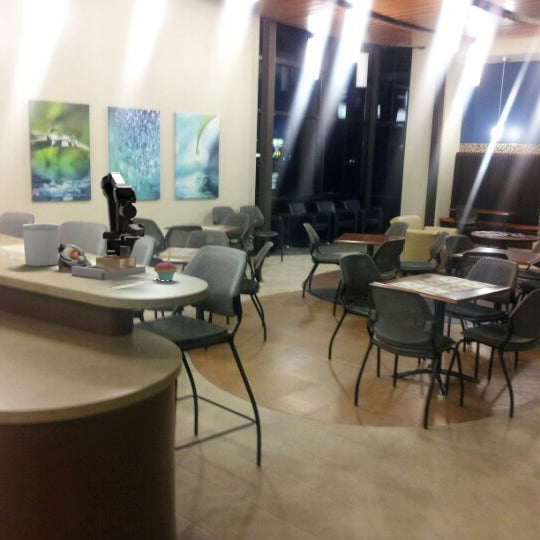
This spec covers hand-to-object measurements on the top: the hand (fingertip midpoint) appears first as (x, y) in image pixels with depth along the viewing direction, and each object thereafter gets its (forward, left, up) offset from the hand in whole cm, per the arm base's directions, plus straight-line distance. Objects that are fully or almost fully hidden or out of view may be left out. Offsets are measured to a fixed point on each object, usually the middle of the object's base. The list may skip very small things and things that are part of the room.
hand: (124, 255), depth 240 cm
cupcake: (+2, +23, -8) cm, 24 cm away
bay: (+8, 0, -8) cm, 11 cm away
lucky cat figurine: (+7, -21, -8) cm, 23 cm away
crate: (+5, 0, -6) cm, 8 cm away
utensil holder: (+4, -45, -8) cm, 46 cm away
